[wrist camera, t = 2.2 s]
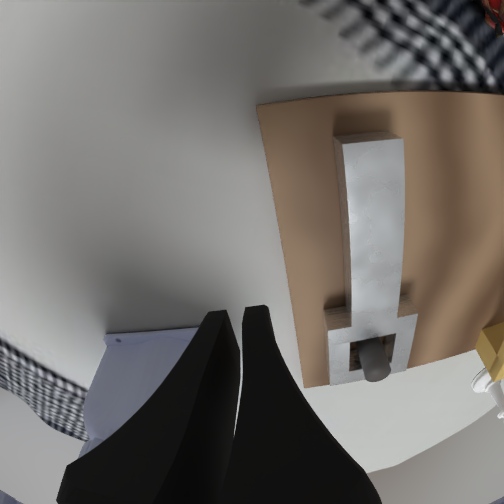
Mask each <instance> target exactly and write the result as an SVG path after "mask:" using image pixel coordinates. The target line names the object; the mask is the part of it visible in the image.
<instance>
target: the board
mask: <svg viewBox="0 0 504 504" xmlns="http://www.w3.org/2000/svg"><path fill="white" fill-rule="evenodd" d="M256 109H257V114H258V119H259V124H260V129H261V134H262V139H263V144H264V149H265V155H266V160H267V165H268V170H269V176H270V181H271V186H272V192H273V197H274V203H275V208H276V214H277V220H278V225H279V231H280V237H281V243H282V249H283V254H284V260H285V266H286V272H287V279H288V285H289V291H290V297H291V303H292V310H293V316H294V323H295V329H296V336H297V343H298V349H299V356H300V363H301V370H302V377H303V384H304V388H310V387H317V386H323V385H329V384H330V382H329V376H328V371H327V363H326V344H325V328H324V314H323V310H324V309H330V308H336V307H342V306H345V276H344V254H343V236H342V222H341V208H340V197H339V186H338V176H337V166H336V157H335V149H334V141H333V136H338V135H347V134H356V133H366V132H377V131H390V132H392V133H394V134H396V135H398V136H399V137H401V138H403V142H404V165H405V222H404V246H403V262H402V275H401V286H400V296H401V295H406V294H408V295H409V297H410V299H411V301H412V303H413V305H414V307H415V308H416V310H417V312H418V317H417V322H416V327H415V332H414V337H413V342H412V347H411V351H410V356H409V360H408V364H407V369H408V368H412V367H416V366H420V365H424V364H427V363H431V362H435V361H438V360H442V359H445V358H449V357H452V356H455V355H458V354H462V353H465V352H468V351H471V350H474V349H476V348H475V346H476V343H477V341H478V338H479V335H480V333H481V330H482V329H484V328H487V327H491V326H494V325H496V324H499V323H502V322H504V94H496V93H484V92H469V91H443V90H404V91H378V92H361V93H348V94H337V95H327V96H318V97H310V98H302V99H295V100H288V101H281V102H275V103H269V104H263V105H257V106H256ZM384 343H385V336H380V337H375V338H370V339H365V340H359V341H354V342H350V350H355V349H357V350H358V354H359V357H360V361H361V365H362V368H363V372H364V376H365V379H366V380H367V381H369V382H377V381H380V380H383V379H384V378H386V377H387V376H388V375H389V374H390V372H391V367H390V364H389V361H388V358H387V355H386V352H385V350H384V347H383V344H384Z"/></svg>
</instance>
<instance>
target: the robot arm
mask: <svg viewBox="0 0 504 504" xmlns="http://www.w3.org/2000/svg"><path fill="white" fill-rule="evenodd" d="M103 340H104V342H105V343H106V345H107V346H108V347H107V348H106V351H105V353H104V355H103V358H102V360H101V362H100V364H99V367H98V369H97V372H96V374H95V376H94V379H93V381H92V384H91V386H90V388H89V391H88V393H87V396H86V399H85V403H84V424H85V428H86V431H87V433H88V435H89V437H90V439H91V440H90V441H87V442H85V444H84V446H83V447H82V450H81V452H80V454H79V457H78V459H77V460H75V461H74V462H72V463H71V464H69V465H67V467H66V470H65V473H64V476H63V479H62V482H61V486H60V489H59V492H58V496H57V499H56V501H57V503H58V504H382V502H381V499H380V497H379V494H378V493H377V491H376V489H375V487H374V485H373V484H372V482H371V481H370V479H369V477H368V476H367V474H366V472H365V470H364V469H363V468H362V467H361V466H360V465H359V464H358V463H357V462H356V461H355V460H354V459H353V458H352V457H351V456H350V455H349V454H348V453H347V452H346V451H345V449H344V448H343V447H342V446H341V445H340V444H339V443H338V441H337V440H336V439H335V438H334V437H333V436H332V434H331V433H330V432H329V430H328V429H327V428H326V427H325V425H324V424H323V423H322V421H321V420H320V419H319V417H318V416H317V415H316V413H315V412H314V411H313V409H312V408H311V406H310V405H309V403H308V402H307V400H306V399H305V397H304V396H303V394H302V392H301V391H300V389H299V387H298V386H297V384H296V382H295V381H294V379H293V377H292V375H291V373H290V371H289V369H288V367H287V366H286V364H285V362H284V359H283V357H282V355H281V353H280V350H279V348H278V346H277V343H276V341H275V336H274V331H273V327H272V322H271V318H270V313H269V308H268V307H267V306H265V305H259V306H252V307H245V311H244V315H243V321H242V353H243V381H242V390H241V398H240V405H239V412H238V418H237V424H236V430H235V435H234V429H235V420H236V412H237V404H238V395H239V386H240V349H239V346H238V343H237V340H236V337H235V334H234V331H233V328H232V325H231V322H230V319H229V316H228V313H227V310H220V311H211V312H208V313H207V315H206V316H205V318H204V319H203V321H202V323H201V325H200V326H199V327H197V328H186V329H175V330H163V331H151V332H137V333H121V334H106V335H105V336H104V339H103ZM0 504H23V503H21V502H19V501H17V500H15V499H14V498H13V497H11V496H10V495H8V494H6V493H5V492H3V491H1V490H0ZM490 504H504V497H502V498H500V499H498V500H496V501H494V502H492V503H490Z"/></svg>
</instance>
